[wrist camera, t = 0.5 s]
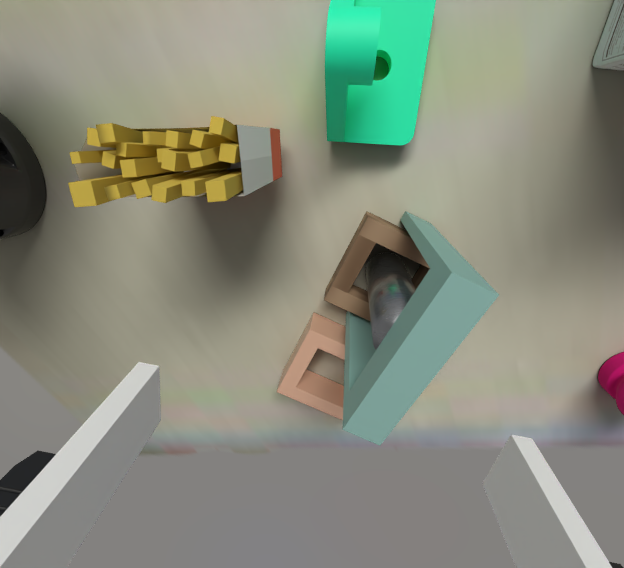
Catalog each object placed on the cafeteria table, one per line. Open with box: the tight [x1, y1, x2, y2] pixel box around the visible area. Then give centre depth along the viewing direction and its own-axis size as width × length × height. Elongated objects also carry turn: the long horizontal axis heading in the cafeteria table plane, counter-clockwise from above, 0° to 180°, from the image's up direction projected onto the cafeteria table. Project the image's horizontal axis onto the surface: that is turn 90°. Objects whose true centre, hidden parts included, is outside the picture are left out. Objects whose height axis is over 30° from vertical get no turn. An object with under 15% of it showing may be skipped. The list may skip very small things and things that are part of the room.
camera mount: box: [325, 0, 436, 145], centre depth 25 cm, size 12×8×10 cm, turn 177°
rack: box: [277, 313, 346, 420], centre depth 41 cm, size 10×10×4 cm
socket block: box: [324, 212, 430, 321], centre depth 36 cm, size 10×10×3 cm
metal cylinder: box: [365, 252, 416, 350], centre depth 31 cm, size 4×4×14 cm
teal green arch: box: [343, 211, 499, 445], centre depth 29 cm, size 3×14×17 cm, turn 156°
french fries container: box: [68, 116, 282, 207], centre depth 26 cm, size 5×11×18 cm, turn 91°
